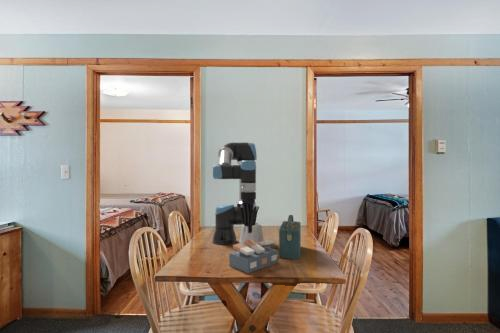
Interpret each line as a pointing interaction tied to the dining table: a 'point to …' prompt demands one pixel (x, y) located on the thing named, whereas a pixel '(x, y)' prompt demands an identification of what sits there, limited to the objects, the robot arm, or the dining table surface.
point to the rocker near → (243, 249)
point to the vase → (252, 234)
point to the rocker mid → (254, 246)
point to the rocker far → (265, 243)
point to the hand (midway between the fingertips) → (248, 239)
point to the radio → (290, 239)
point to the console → (253, 260)
